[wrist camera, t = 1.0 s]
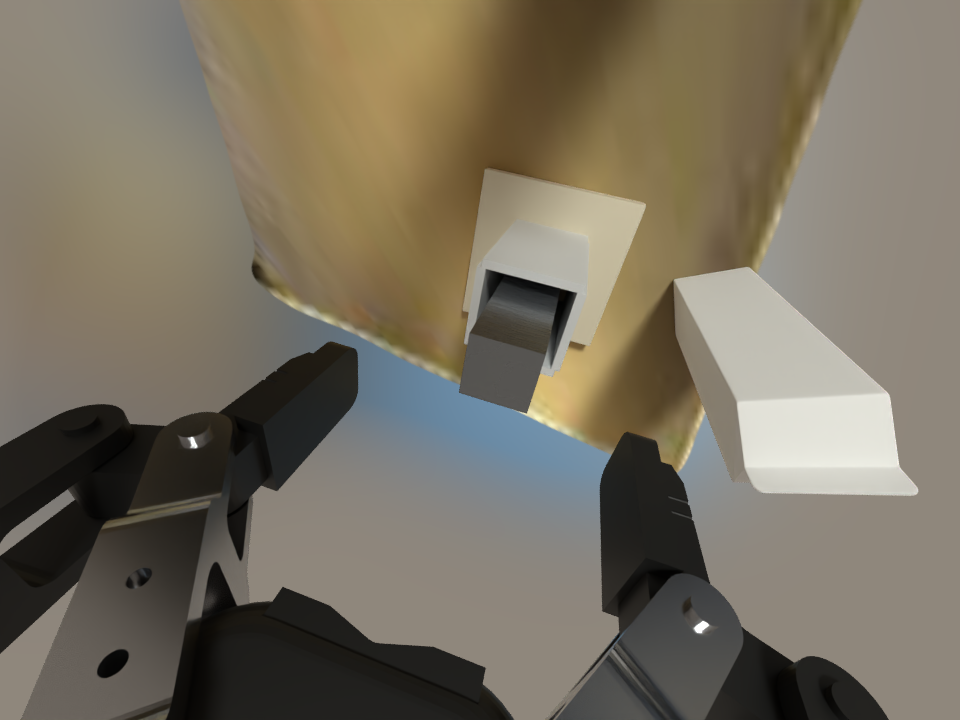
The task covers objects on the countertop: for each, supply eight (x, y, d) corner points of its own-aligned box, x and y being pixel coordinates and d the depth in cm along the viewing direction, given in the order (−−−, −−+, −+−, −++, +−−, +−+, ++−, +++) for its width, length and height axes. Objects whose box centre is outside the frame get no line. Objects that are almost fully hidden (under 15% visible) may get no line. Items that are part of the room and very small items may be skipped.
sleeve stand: (488, 167, 33) (428, 190, 21) (644, 202, 32) (674, 249, 20) (466, 305, 41) (413, 378, 29) (589, 339, 40) (587, 432, 27)
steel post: (525, 238, 34) (467, 330, 19) (569, 249, 34) (548, 353, 18) (514, 284, 37) (456, 398, 21) (555, 295, 36) (526, 420, 21)
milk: (745, 326, 35) (907, 541, 17) (673, 334, 37) (750, 533, 19) (748, 264, 32) (948, 443, 14) (671, 277, 34) (758, 447, 16)
